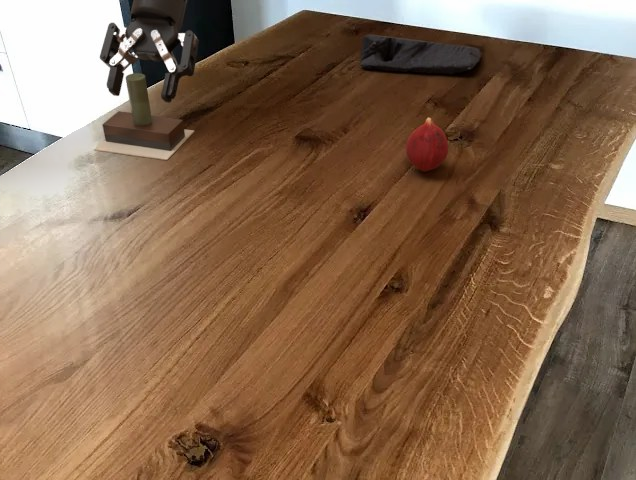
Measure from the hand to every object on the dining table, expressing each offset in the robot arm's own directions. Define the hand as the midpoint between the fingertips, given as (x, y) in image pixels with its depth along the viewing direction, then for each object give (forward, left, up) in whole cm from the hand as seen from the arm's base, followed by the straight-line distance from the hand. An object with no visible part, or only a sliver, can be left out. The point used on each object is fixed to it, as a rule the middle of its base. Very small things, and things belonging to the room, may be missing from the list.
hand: (139, 97), depth 108 cm
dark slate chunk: (+35, +44, -7) cm, 56 cm away
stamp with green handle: (0, 0, -7) cm, 7 cm away
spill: (0, 0, -7) cm, 7 cm away
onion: (+43, +2, -7) cm, 44 cm away
